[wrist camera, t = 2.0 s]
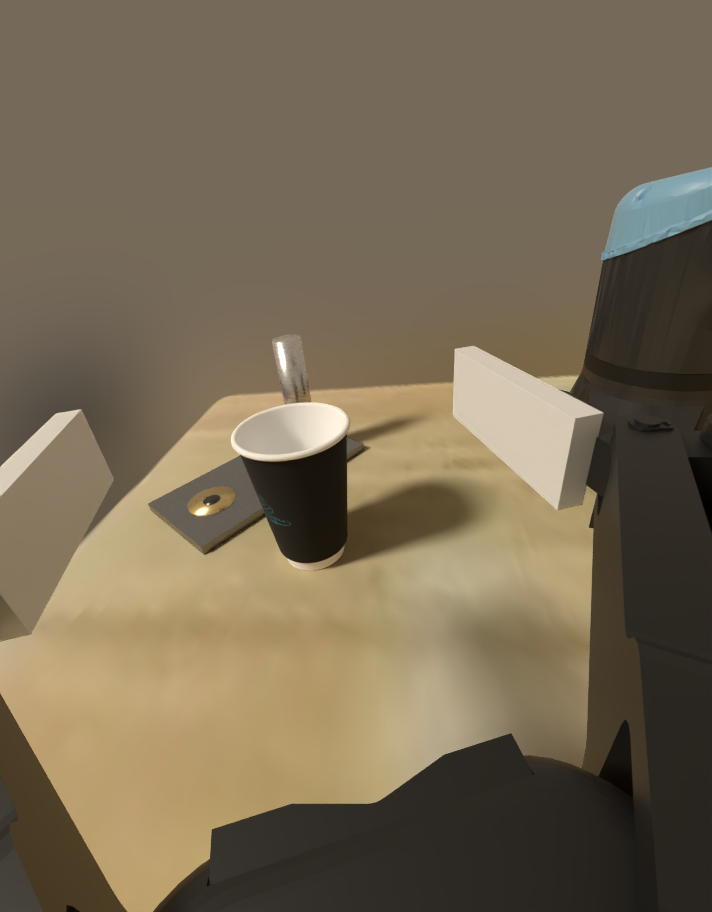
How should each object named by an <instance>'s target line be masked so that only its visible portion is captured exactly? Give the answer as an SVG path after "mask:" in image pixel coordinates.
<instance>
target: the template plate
mask: <svg viewBox="0 0 712 912" xmlns="http://www.w3.org/2000/svg"><path fill="white" fill-rule="evenodd" d="M362 450H364V447H363V443H361V442H358V441H355V440H352V439H349V438H347V460H349V459H350V458H352V457H353V456H355V455H356V454H358V453H359V452H361V451H362ZM148 505H149V507H150V509H151V511H152V512H154V513H155V514H156V515H157V516H158V517H160V518H161V519H162V520H163V521H164V522H166V523H167V524H168V525H169V526H170V527H172V528H173V529H174V530H175V531H176V532H178V533H179V534H180V535H181V536H182V537H184V538H185V539H186V540H187V541H188V542H190V543H191V544H192V545H193V546H194V547H196V548H197V549H198V550H199V551H200V552H202V553H203V554H205V553H207V552H209V551H210V550H212V549H213V548H215V547H216V546H218V545H219V544H221V543H222V542H224V541H225V540H227V539H228V538H230V537H231V536H233V535H234V534H236V533H237V532H239V531H241V530H242V529H244V528H245V527H247V526H248V525H250V524H251V523H253V522H254V521H256V520H257V519H259V518H260V517H262V516H263V515H265V513H264V510H263V508H262V506H261V503H260V501H259V498H258V496H257V494H256V491H255V489H254V487H253V484H252V482H251V480H250V477H249V475H248V472H247V470H246V468H245V465H244V463H243V461H242V458H241V456H238V457H237V458H235V459H233V460H231V461H229V462H227V463H225V464H223V465H221V466H219V467H217V468H215V469H214V470H212V471H210V472H208V473H206V474H204V475H202V476H200V477H198V478H196V479H194V480H193V481H191V482H189V483H187V484H185V485H183V486H181V487H179V488H177V489H175V490H173V491H171V492H170V493H168V494H166V495H164V496H162V497H160V498H158V499H156V500H154V501H152V502H150V503H149V504H148Z"/></svg>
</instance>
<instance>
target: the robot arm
mask: <svg viewBox="0 0 712 912" xmlns="http://www.w3.org/2000/svg"><path fill="white" fill-rule="evenodd" d="M601 260H603V265H602V271H601V276H600V281H599V287H598V292H597V297H596V302H595V308H594V313H593V318H592V324H591V329H590V334H589V339H588V344H587V350H586V355H585V360H584V364H583V369H582V371H581V374H580V375H579V377H578V379H577V380H576V382H575V384H574V386H573V387H572V389H571V391H570V393H569V392H567V391H563V390H559V389H556V388H555V387H553V386H551V385H549V384H547V383H545V382H543V381H541V380H539V379H537V378H535V377H533V376H531V375H529V374H527V373H525V372H523V371H521V370H519V369H518V368H516V367H514V366H512V365H510V364H508V363H506V362H504V361H502V360H500V359H498V358H496V357H494V356H492V355H490V354H488V353H486V352H485V351H482V350H481V349H479V348H477V347H475V346H470V347H464V348H458V349H455V362H454V394H453V416H454V417H455V418H456V419H457V420H458V421H459V422H460V423H462V424H463V425H464V426H465V427H466V428H467V429H468V430H469V431H470V432H471V433H473V434H474V435H475V436H476V437H477V438H478V439H479V440H480V441H481V442H482V443H484V444H485V445H486V446H487V447H488V448H489V449H490V450H491V451H492V452H494V453H495V454H496V455H497V456H498V457H499V458H500V459H501V460H502V461H503V462H505V463H506V464H507V465H508V466H509V467H510V468H511V469H512V470H513V471H514V472H516V473H517V474H518V475H519V476H520V477H521V478H522V479H523V480H524V481H525V482H527V483H528V484H529V485H530V486H531V487H532V488H533V489H534V490H535V491H537V492H538V493H539V494H540V495H541V496H542V497H543V498H544V499H545V500H546V501H548V502H549V503H550V504H551V505H552V506H553V507H554V508H555V509H556V510H561V509H565V508H569V507H574V506H578V505H582V503H583V499H584V495H585V491H586V486H589V487H590V488H591V489H593V490H594V491H595V492H597V497H596V501H595V505H594V509H593V513H592V517H591V521H590V525H589V528H594V533H593V565H592V597H591V628H590V660H589V692H588V724H587V742H586V750H585V755H584V761H583V767H582V769H581V768H578V767H576V766H573V765H571V764H568V763H565V762H561V761H557V760H554V759H550V758H544V757H537V756H523V755H522V753H521V751H520V749H519V747H518V745H517V743H516V741H515V739H514V738H513V736H512V734H511V733H510V734H507V735H504V736H501V737H498V738H495V739H492V740H489V741H486V742H483V743H479V744H476V745H473V746H470V747H467V748H464V749H461V750H458V751H455V752H451V753H448V754H445V755H443V756H442V757H440V758H439V759H438V760H436V761H435V762H433V763H432V764H431V765H429V766H428V767H427V768H425V769H424V770H422V771H421V772H420V773H418V774H417V775H415V776H414V777H413V778H411V779H410V780H408V781H407V782H406V783H404V784H403V785H401V786H400V787H399V788H397V789H396V790H395V791H393V792H392V793H390V794H389V795H388V796H386V797H385V798H383V799H382V800H380V801H378V802H376V803H372V804H290V805H287V806H283V807H280V808H277V809H274V810H271V811H268V812H265V813H262V814H259V815H255V816H252V817H249V818H246V819H243V820H240V821H237V822H234V823H231V824H227V825H224V826H221V827H218V828H215V829H212V836H211V852H210V859H209V860H208V861H206V862H205V863H203V864H202V865H200V866H199V867H198V868H197V869H196V870H194V871H193V872H192V873H191V874H190V875H188V876H187V877H186V878H185V879H184V880H183V881H181V882H180V883H179V884H178V885H177V886H176V887H175V888H174V889H173V890H172V891H171V892H170V894H169V895H168V896H167V897H166V898H165V899H164V900H163V901H162V902H161V903H160V904H159V905H158V906H157V908H156V909H155V910H154V911H153V912H712V168H707V169H702V170H698V171H695V172H690V173H686V174H682V175H677V176H673V177H669V178H665V179H661V180H657V181H653V182H649V183H646V184H642V185H640V186H638V187H636V188H634V189H632V190H631V191H630V192H629V193H627V194H626V195H625V196H624V197H623V198H622V200H621V201H620V202H619V204H618V206H617V208H616V210H615V213H614V216H613V221H612V225H611V228H610V232H609V236H608V240H607V244H606V248H605V251H604V252H603V253H602V255H601ZM113 480H114V478H113V476H112V474H111V472H110V470H109V468H108V466H107V463H106V461H105V459H104V457H103V455H102V453H101V451H100V448H99V446H98V444H97V442H96V440H95V438H94V436H93V434H92V431H91V429H90V427H89V425H88V423H87V421H86V418H85V416H84V414H83V412H82V410H74V411H69V412H62V413H56V414H55V415H54V416H53V417H52V418H51V419H50V420H49V421H48V422H47V423H46V424H45V425H44V426H42V427H41V429H39V430H38V431H37V432H36V433H35V434H34V435H33V436H32V437H31V438H30V439H29V440H28V441H27V442H26V443H25V444H24V445H23V446H22V447H21V448H20V449H18V450H17V451H16V452H15V453H14V454H13V455H12V456H11V457H10V458H9V459H8V460H7V461H6V462H5V463H4V464H3V465H2V466H1V467H0V641H4V640H9V639H13V638H17V637H21V636H26V635H30V634H31V633H32V631H33V629H34V627H35V626H36V624H37V622H38V620H39V618H40V616H41V614H42V613H43V611H44V609H45V607H46V605H47V603H48V601H49V599H50V598H51V596H52V594H53V592H54V590H55V588H56V586H57V585H58V583H59V581H60V579H61V577H62V575H63V573H64V571H65V570H66V568H67V566H68V564H69V562H70V560H71V558H72V557H73V555H74V553H75V551H76V549H77V547H78V545H79V544H80V542H81V540H82V538H83V536H84V534H85V532H86V530H87V529H88V527H89V525H90V523H91V521H92V519H93V517H94V516H95V514H96V511H97V510H98V508H99V506H100V504H101V502H102V501H103V499H104V497H105V495H106V493H107V491H108V489H109V487H110V486H111V484H112V482H113ZM0 912H127V911H126V910H125V908H124V907H123V906H122V904H121V903H120V901H119V900H118V899H117V897H116V896H115V894H114V892H113V891H112V889H111V887H110V885H109V884H108V882H107V880H106V878H105V877H104V875H103V873H102V871H101V870H100V868H99V866H98V864H97V863H96V861H95V859H94V857H93V856H92V854H91V852H90V850H89V849H88V847H87V845H86V843H85V842H84V840H83V838H82V836H81V835H80V833H79V831H78V829H77V828H76V826H75V824H74V822H73V820H72V819H71V817H70V815H69V813H68V812H67V810H66V808H65V806H64V805H63V803H62V801H61V799H60V798H59V796H58V794H57V792H56V791H55V789H54V787H53V785H52V784H51V782H50V780H49V778H48V777H47V775H46V773H45V771H44V770H43V768H42V766H41V764H40V762H39V761H38V759H37V757H36V755H35V754H34V752H33V750H32V748H31V747H30V745H29V743H28V741H27V740H26V738H25V736H24V734H23V733H22V731H21V729H20V727H19V726H18V724H17V722H16V720H15V719H14V717H13V715H12V713H11V712H10V710H9V708H8V706H7V705H6V703H5V701H4V699H3V697H2V696H1V694H0Z"/></svg>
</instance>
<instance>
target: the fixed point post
mask: <svg viewBox="0 0 712 912" xmlns="http://www.w3.org/2000/svg"><path fill="white" fill-rule="evenodd" d="M272 345H273V350H274V355H275V360H276V364H277V369H278V374H279V379H280V384H281V389H282V394H283V399H284V404H285V405H286V404H293V403H305V402H311V396H310V390H309V385H308V378H307V372H306V367H305V361H304V355H303V349H302V343H301V337H300V336H299V335H283V336H279V337H276V338H274V339H272Z"/></svg>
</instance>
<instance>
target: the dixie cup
mask: <svg viewBox="0 0 712 912" xmlns="http://www.w3.org/2000/svg"><path fill="white" fill-rule="evenodd" d="M349 428H350V419H349V416H348V415H347V414H346V413H345V412H344V411H343V410H341V409H340V408H338V407H335V406H333V405H329V404H324V403H314V402H305V403H293V404H286V405H281V406H277V407H273V408H270V409H267V410H264V411H262V412H259V413H257V414H255V415H253V416H251V417H249V418H247V419H246V420H244V421H243V422H242V423H240V424H239V425H238V426H237V428H236V429H235V430H234V432H233V433H232V436H231V445H232V447H233V448H234V450H235V451H236V452H237V453H239V454H240V456H241V458H242V461H243V463H244V465H245V468H246V470H247V472H248V475H249V477H250V480H251V482H252V484H253V487H254V489H255V491H256V494H257V496H258V498H259V501H260V503H261V506H262V508H263V510H264V513H265V515H266V517H267V520H268V522H269V525H270V527H271V529H272V532H273V534H274V536H275V539H276V541H277V544H278V546H279V548H280V551H281V552H282V554H283V555H284V556H285V557H286V558H287V560H288V562H289V563H290V564H291V565H292V566H294V567H296V568H298V569H301V570H307V571H313V570H319V569H323V568H326V567H328V566H330V565H332V564H333V563H335V562H336V561H337V560H338V559H339V558H340V557H341V555H342V554H343V552H344V548H345V543H346V540H347V432H348V431H349Z"/></svg>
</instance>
